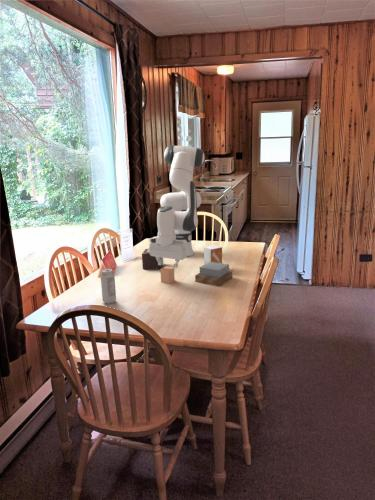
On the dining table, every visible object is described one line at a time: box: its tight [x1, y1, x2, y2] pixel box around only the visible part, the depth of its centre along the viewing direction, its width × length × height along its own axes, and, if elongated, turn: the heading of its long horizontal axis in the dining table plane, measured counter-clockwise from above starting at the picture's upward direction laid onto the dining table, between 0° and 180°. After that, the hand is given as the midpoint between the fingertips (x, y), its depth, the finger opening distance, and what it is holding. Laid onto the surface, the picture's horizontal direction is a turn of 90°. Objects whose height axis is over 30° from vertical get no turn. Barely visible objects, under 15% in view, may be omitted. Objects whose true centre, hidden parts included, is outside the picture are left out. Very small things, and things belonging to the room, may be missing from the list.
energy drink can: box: [100, 268, 117, 304], centre depth 181 cm, size 6×6×15 cm
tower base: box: [194, 270, 233, 287], centre depth 207 cm, size 14×14×4 cm
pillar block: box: [159, 265, 176, 284], centre depth 206 cm, size 5×5×7 cm
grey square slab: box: [199, 262, 230, 278], centre depth 206 cm, size 11×11×4 cm
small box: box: [203, 244, 223, 265], centre depth 221 cm, size 8×6×13 cm
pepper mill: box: [141, 248, 165, 270], centre depth 232 cm, size 16×11×18 cm
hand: (167, 266), depth 205 cm, fingers open, 8 cm apart
